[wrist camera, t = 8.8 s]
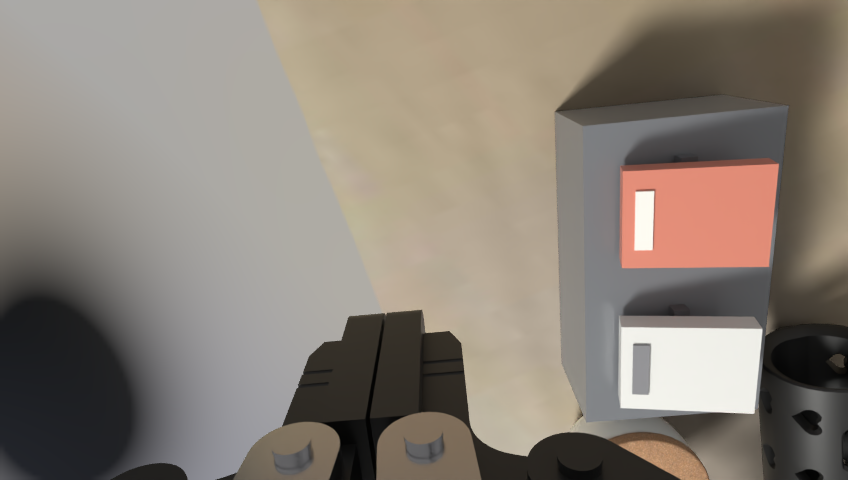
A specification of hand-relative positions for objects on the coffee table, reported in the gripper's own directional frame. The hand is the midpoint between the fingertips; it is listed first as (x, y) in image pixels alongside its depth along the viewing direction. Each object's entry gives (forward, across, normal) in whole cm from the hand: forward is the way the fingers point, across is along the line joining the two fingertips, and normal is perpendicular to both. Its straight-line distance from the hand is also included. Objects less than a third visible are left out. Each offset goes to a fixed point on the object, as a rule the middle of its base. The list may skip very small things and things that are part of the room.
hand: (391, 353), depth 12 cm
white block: (+23, -16, +15) cm, 32 cm away
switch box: (+32, -16, +10) cm, 37 cm away
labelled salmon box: (+23, -16, +5) cm, 28 cm away
